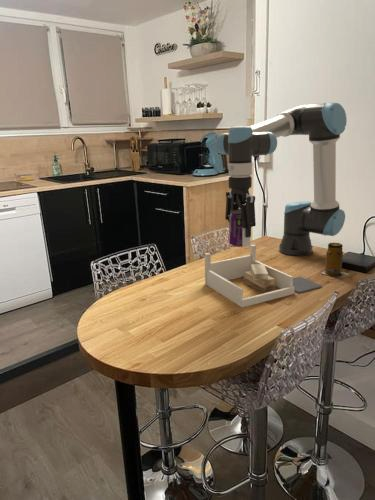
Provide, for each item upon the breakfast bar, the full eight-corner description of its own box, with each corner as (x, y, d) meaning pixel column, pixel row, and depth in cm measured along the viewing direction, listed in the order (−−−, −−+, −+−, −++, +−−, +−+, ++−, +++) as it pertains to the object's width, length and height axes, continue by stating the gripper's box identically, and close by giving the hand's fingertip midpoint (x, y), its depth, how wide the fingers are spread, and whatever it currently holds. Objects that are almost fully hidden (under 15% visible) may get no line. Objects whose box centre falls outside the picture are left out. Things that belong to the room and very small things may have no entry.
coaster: (300, 277, 147) (300, 276, 147) (321, 287, 138) (322, 285, 138) (277, 283, 143) (277, 281, 143) (298, 293, 133) (298, 291, 133)
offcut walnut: (253, 280, 147) (253, 275, 147) (275, 291, 137) (275, 285, 137) (243, 283, 145) (243, 277, 144) (264, 294, 135) (264, 287, 134)
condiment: (330, 269, 156) (332, 240, 153) (349, 274, 150) (352, 244, 146) (319, 273, 152) (322, 244, 148) (339, 279, 145) (342, 248, 142)
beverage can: (243, 249, 127) (243, 213, 124) (225, 246, 132) (225, 211, 128) (253, 243, 133) (254, 209, 129) (235, 241, 137) (236, 208, 133)
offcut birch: (263, 270, 144) (263, 264, 144) (267, 280, 135) (268, 273, 134) (250, 270, 145) (251, 264, 144) (254, 280, 135) (254, 273, 134)
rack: (252, 273, 154) (253, 244, 150) (294, 293, 133) (296, 261, 130) (205, 283, 144) (204, 253, 141) (241, 307, 124) (242, 272, 120)
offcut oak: (255, 275, 146) (255, 269, 145) (274, 285, 137) (274, 278, 136) (244, 278, 144) (244, 272, 143) (262, 287, 134) (263, 281, 134)
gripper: (214, 174, 132) (215, 238, 139) (248, 179, 115) (247, 252, 122) (232, 172, 135) (232, 235, 142) (268, 177, 118) (266, 248, 125)
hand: (239, 243), depth 132 cm, fingers closed on beverage can, 7 cm apart
